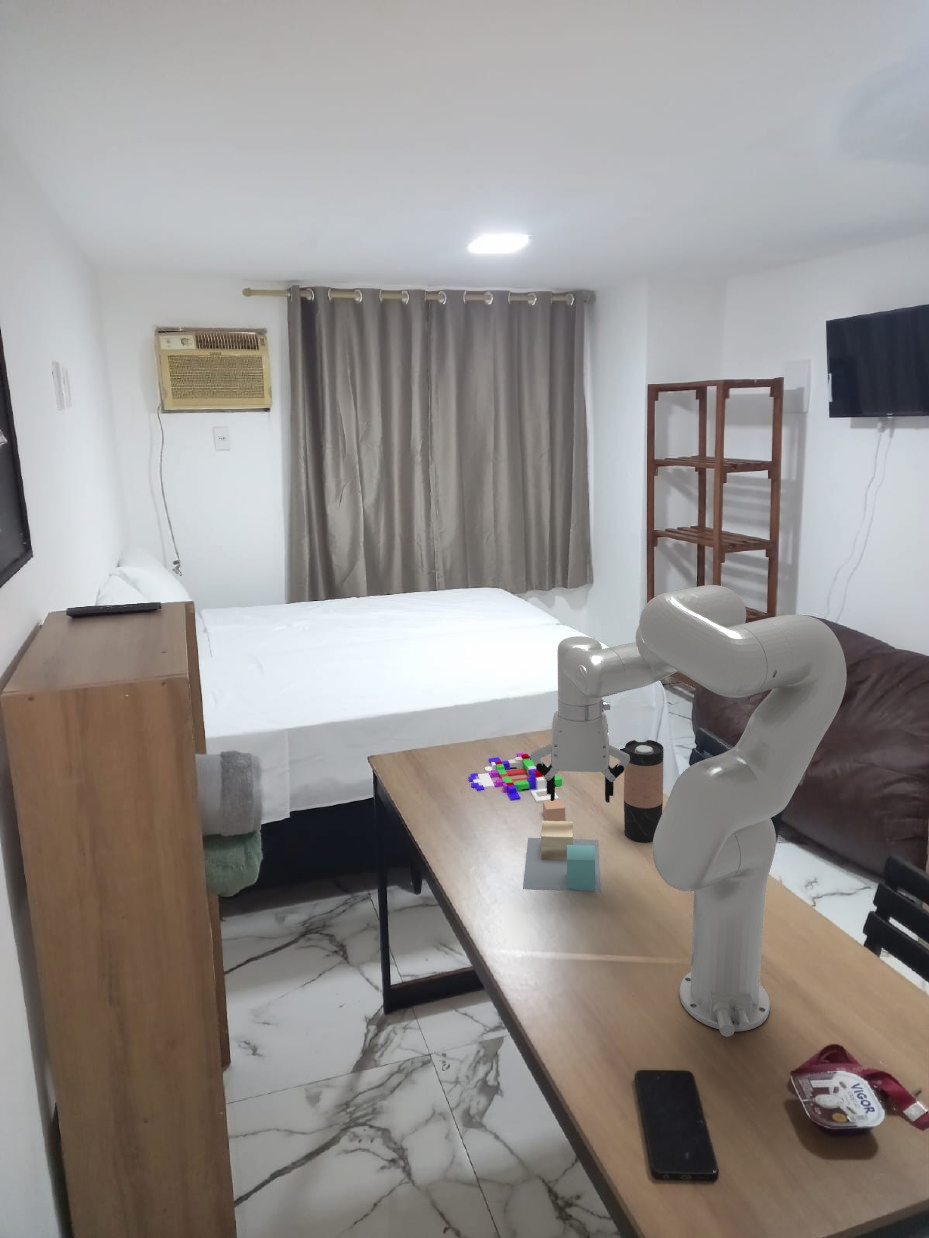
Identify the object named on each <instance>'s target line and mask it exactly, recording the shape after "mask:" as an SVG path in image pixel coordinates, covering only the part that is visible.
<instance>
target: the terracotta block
mask: <svg viewBox="0 0 929 1238" xmlns="http://www.w3.org/2000/svg"><path fill="white" fill-rule="evenodd" d="M542 813H543V817H544V819H545V821H566V806H565V804H564V802H563V799H562V798H559V799H556V800H554V801H551V800H543V803H542Z"/></svg>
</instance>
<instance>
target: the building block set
mask: <svg viewBox="0 0 929 1238" xmlns="http://www.w3.org/2000/svg"><path fill="white" fill-rule="evenodd" d="M530 756H531V755H530V754H529V753H527V752H525V753H524V752H516V757H514V759H507V760H501V759H500V757H499V756H497V757H489V758H488V761H489V764H490V765H491V766H485V767H484V771H485V773H479V774H478V772H474V773H470V774H469V775H470V776H468V777H467V779H469V780H468V781H469V783H470V787H471V789H472V788H473V789H476V791H477V792H482V791H481V790H484V791H485V790H486V789H492V788H493V789H494V788H502V792H503V793H504V794H506V795H507V796H508V798H509V800H510V801H519V800H521V795H519V792H522V791H523V790H524V789H528V790H530V794H531V796H532V797H533V799H534V801H535V802H536V804H541V803H542V804H543V800H551V794H548V795H543V796H539V795H541V794H547V780H546V779H545V777H544V776H543V775H542V774H541V773H540V772H539V771H538V770H537V769H536V766H535V765H534V763H533V762H532V760H531V758H530ZM545 765H546V764H545ZM546 766H547V767H548V766H549V765H546ZM511 768H516V769H511ZM510 769H511V770H510ZM525 775H527V777H526V776H525ZM516 776H525V777H519V778H510V777H516ZM495 778H496V779H495ZM497 778H499V779H497ZM492 779H495V781H493V780H492ZM561 786H563V778H562V777H561V775H555V787H561ZM556 799H560V798H559V796H558V795H557V793H556V792H555V800H556Z"/></svg>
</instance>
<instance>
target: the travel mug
mask: <svg viewBox="0 0 929 1238" xmlns="http://www.w3.org/2000/svg"><path fill="white" fill-rule="evenodd" d="M664 751H665V750H664V746H663V745H662V743H660V742H658V741H657V740H656V741H655V740H653V739H652V740H651V739H647V740H645V741H637V740H636V739H632V740H630V741H627V742H626V743H625V745H624V752H625V753H627V754H629V755H630V761H629V763H628V765H627V766H626V767H625V769H624V772H623V773H624V774H623V816H624V817H623V821H624V824H623V825H624V836H625V837H626V838H627V839H629V840H630V841H633V842H636V843H640V844H650V843H653V838H654V834H655V831H656V828H657V825H658V823H659V820H660V818H661V815H662V813H663V805H664Z"/></svg>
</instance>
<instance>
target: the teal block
mask: <svg viewBox="0 0 929 1238" xmlns="http://www.w3.org/2000/svg"><path fill="white" fill-rule="evenodd" d="M567 889H580V890H595V846H591V845H567Z"/></svg>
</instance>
